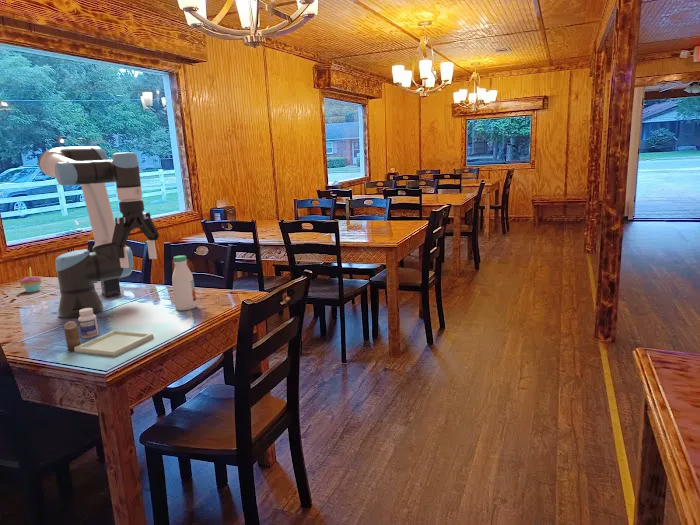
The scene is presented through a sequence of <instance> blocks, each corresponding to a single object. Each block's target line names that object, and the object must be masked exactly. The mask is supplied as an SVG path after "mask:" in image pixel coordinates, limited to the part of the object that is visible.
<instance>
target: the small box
mask: <svg viewBox="0 0 700 525" xmlns="http://www.w3.org/2000/svg"><path fill="white" fill-rule="evenodd" d="M100 287H101V293H102V295H103V296H104V297H105V298H108V297H113V296H119V295H121V284H120V278H115V279H110V280H105V281H100Z"/></svg>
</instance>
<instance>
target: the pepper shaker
mask: <svg viewBox="0 0 700 525" xmlns="http://www.w3.org/2000/svg"><path fill="white" fill-rule="evenodd" d="M63 330H64V336H65V342H66V346H67V351H68V352H69V353H70V352H71V353H72V352H75V350H74V347H76V346H79V345H81V344H82V343H81V338H80V337H81V336H80V334H79V331H80V330H79V325H78V324H77V323H76V321H74V320H70V321H69V320H68V321H67V322H66V323H64V326H63Z"/></svg>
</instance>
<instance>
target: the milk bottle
mask: <svg viewBox="0 0 700 525" xmlns="http://www.w3.org/2000/svg"><path fill="white" fill-rule="evenodd" d="M187 261H188V260H187V256H186V255H176V256H173V264H174V269H173V273H172V277H171V281H172V282H171V283H172V285H171V286H172V292H173V300H174V306H175V307H174V308H175V309H176V311H189V310H193V309H196V308H197V296H196V295H197V294H196V289H195V288H196V287H195V281H194V277H193V273H192V272H191V270H190V268H189V266H188V263H187Z"/></svg>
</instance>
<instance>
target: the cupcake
mask: <svg viewBox="0 0 700 525" xmlns="http://www.w3.org/2000/svg"><path fill="white" fill-rule="evenodd" d="M28 272H29V276H25V277H23V278H22V279H21V280H20V281H19V284H20V286H21V287H23V289H25V291H26V292H27V293H35V292H39V291H40V286H41V283H42V281H43V280H42V279H41V277H39V276H37V275H32V268H31V267H29V271H28Z"/></svg>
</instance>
